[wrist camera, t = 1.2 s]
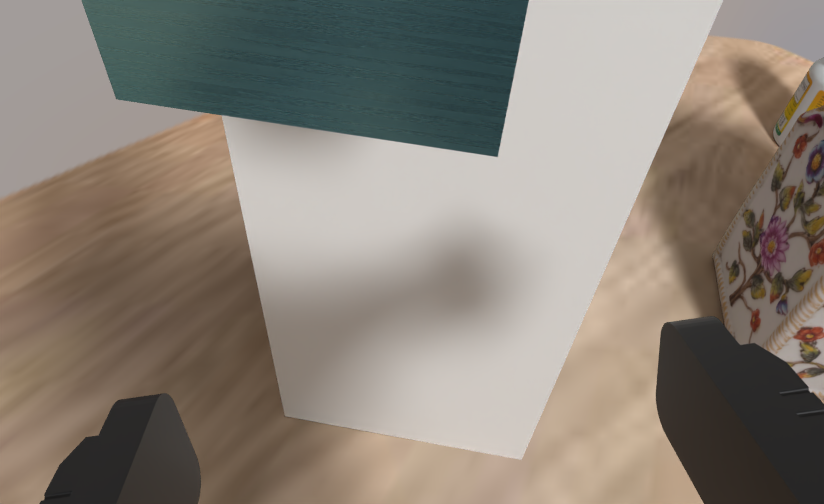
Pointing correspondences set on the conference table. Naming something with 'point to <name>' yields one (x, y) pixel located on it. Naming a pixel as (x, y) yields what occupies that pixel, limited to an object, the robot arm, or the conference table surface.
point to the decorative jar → (781, 256)
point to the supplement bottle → (802, 100)
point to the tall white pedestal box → (462, 233)
